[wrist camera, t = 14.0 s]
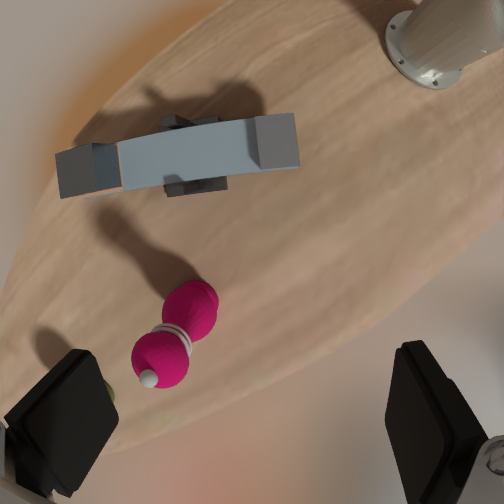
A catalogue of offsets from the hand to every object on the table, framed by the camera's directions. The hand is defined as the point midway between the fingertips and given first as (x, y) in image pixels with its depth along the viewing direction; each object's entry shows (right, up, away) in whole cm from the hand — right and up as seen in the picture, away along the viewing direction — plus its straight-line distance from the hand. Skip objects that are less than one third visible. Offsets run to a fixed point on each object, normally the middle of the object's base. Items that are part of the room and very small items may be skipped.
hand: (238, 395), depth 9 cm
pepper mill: (-7, -3, +37) cm, 38 cm away
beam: (-8, +15, +26) cm, 31 cm away
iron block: (-18, +14, +26) cm, 34 cm away
